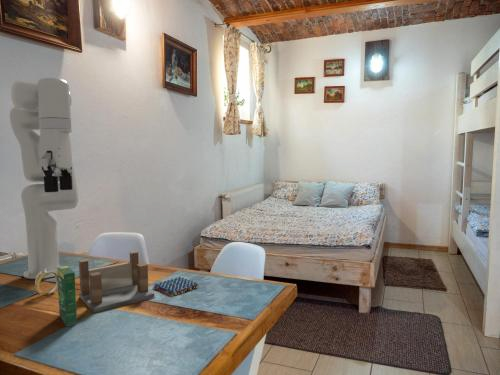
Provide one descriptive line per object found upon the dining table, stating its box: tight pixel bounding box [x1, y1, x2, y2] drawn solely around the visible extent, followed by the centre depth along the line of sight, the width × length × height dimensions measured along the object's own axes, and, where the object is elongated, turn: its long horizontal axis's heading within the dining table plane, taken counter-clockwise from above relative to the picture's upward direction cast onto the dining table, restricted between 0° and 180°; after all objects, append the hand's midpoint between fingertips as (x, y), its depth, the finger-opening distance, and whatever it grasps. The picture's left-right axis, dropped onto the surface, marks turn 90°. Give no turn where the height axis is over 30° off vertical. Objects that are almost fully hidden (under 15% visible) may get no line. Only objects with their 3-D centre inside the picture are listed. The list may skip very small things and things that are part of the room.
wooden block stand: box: [78, 250, 155, 314], centre depth 111 cm, size 14×17×11 cm
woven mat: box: [152, 276, 199, 297], centre depth 118 cm, size 10×11×2 cm
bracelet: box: [34, 267, 58, 295], centre depth 114 cm, size 7×3×8 cm, turn 141°
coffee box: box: [57, 265, 78, 327], centre depth 96 cm, size 8×3×13 cm, turn 37°
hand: (59, 190), depth 101 cm, fingers open, 9 cm apart
